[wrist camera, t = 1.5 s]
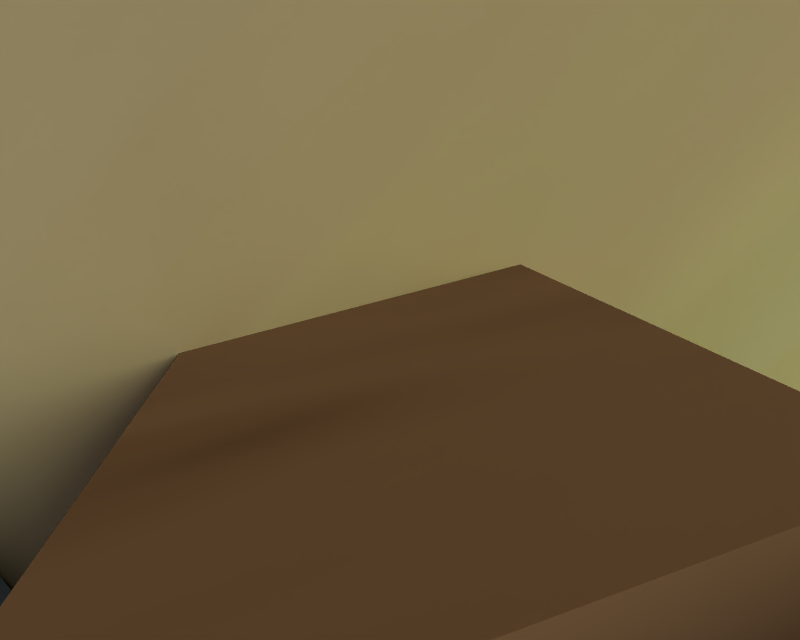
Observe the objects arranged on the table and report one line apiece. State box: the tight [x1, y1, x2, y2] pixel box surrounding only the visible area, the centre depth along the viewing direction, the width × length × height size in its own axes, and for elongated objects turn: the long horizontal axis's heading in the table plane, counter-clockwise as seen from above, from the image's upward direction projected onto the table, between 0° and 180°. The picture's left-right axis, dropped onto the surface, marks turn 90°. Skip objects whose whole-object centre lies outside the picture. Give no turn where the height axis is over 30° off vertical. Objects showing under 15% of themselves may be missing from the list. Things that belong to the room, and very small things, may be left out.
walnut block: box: [0, 265, 800, 640], centre depth 6 cm, size 6×6×6 cm
